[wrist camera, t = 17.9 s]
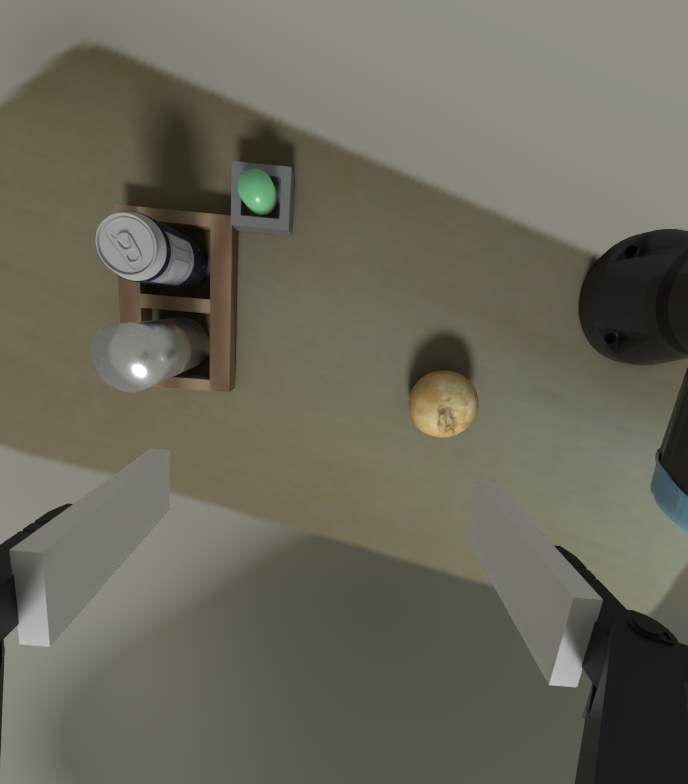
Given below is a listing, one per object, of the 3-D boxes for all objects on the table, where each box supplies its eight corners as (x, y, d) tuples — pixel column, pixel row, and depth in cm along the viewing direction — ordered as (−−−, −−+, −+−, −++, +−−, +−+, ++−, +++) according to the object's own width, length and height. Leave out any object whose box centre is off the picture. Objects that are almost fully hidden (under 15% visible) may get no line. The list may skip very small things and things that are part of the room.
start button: (278, 181, 37) (274, 170, 35) (277, 216, 38) (272, 209, 35) (245, 178, 37) (238, 166, 34) (244, 213, 38) (237, 205, 35)
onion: (398, 376, 45) (410, 387, 38) (461, 359, 45) (484, 368, 38) (412, 435, 47) (425, 456, 40) (472, 419, 46) (496, 438, 40)
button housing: (294, 177, 40) (291, 166, 37) (291, 236, 41) (288, 230, 38) (239, 171, 39) (231, 160, 36) (238, 230, 41) (230, 224, 38)
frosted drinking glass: (211, 321, 43) (162, 329, 31) (208, 371, 44) (160, 396, 32) (159, 313, 42) (91, 318, 31) (158, 363, 44) (92, 386, 32)
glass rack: (238, 221, 40) (232, 215, 38) (235, 387, 45) (229, 392, 42) (128, 210, 40) (114, 204, 37) (135, 380, 44) (123, 384, 42)
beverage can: (194, 227, 40) (137, 194, 29) (219, 276, 42) (174, 263, 30) (149, 250, 41) (76, 225, 29) (175, 297, 42) (114, 292, 30)
